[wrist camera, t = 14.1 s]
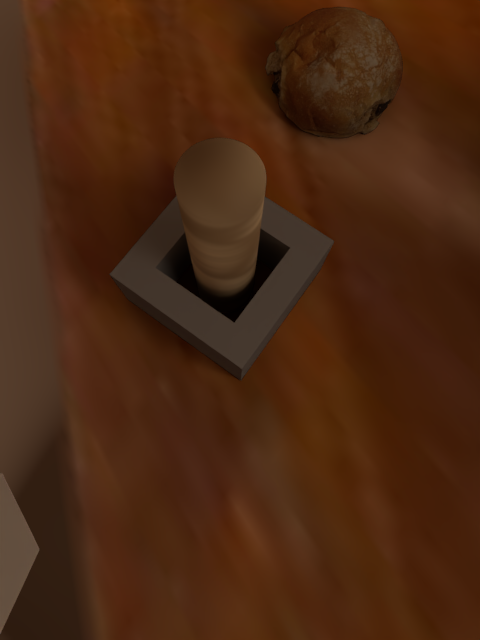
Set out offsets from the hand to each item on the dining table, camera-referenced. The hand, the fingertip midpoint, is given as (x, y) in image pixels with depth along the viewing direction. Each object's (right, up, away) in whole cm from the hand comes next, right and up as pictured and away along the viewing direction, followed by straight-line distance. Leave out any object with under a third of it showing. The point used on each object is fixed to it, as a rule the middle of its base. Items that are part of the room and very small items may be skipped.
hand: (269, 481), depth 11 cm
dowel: (-2, +6, +22) cm, 23 cm away
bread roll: (+6, +23, +27) cm, 36 cm away
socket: (-2, +7, +22) cm, 23 cm away
